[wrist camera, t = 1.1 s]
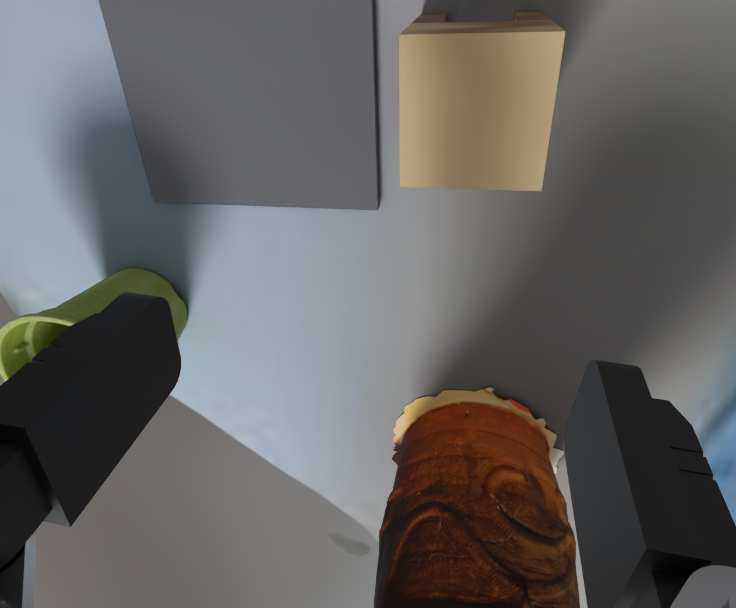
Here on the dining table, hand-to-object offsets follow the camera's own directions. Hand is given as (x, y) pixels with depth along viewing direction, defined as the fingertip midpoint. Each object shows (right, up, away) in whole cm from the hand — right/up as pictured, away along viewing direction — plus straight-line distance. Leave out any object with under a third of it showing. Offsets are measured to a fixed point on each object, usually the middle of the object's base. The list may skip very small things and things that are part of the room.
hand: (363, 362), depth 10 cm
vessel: (+8, -10, +30) cm, 33 cm away
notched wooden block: (+5, +12, +16) cm, 21 cm away
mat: (-6, +13, +18) cm, 23 cm away
